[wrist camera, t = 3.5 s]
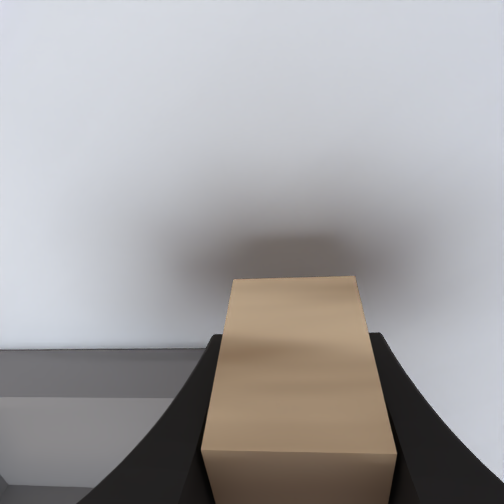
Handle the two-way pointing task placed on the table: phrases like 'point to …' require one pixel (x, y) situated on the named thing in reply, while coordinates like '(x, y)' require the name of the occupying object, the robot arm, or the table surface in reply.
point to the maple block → (297, 398)
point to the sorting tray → (79, 415)
